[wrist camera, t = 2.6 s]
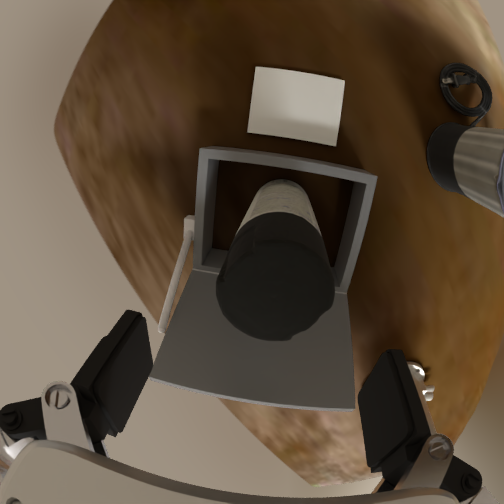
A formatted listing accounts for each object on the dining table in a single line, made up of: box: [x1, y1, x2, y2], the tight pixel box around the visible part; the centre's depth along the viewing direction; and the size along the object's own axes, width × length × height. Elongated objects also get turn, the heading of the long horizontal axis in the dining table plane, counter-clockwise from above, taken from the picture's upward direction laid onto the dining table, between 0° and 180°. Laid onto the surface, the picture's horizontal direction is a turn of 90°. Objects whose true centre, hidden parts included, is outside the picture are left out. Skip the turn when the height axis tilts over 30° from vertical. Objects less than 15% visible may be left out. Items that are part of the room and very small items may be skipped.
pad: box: [247, 67, 345, 146], centre depth 27 cm, size 10×8×1 cm
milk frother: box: [427, 63, 504, 217], centre depth 18 cm, size 14×16×15 cm
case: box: [149, 146, 377, 412], centre depth 25 cm, size 19×18×19 cm
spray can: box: [216, 179, 335, 341], centre depth 24 cm, size 7×7×20 cm
